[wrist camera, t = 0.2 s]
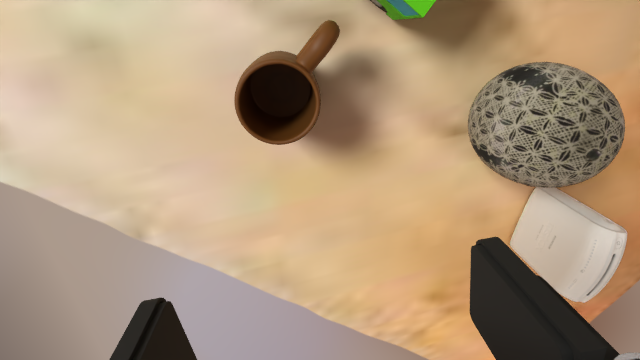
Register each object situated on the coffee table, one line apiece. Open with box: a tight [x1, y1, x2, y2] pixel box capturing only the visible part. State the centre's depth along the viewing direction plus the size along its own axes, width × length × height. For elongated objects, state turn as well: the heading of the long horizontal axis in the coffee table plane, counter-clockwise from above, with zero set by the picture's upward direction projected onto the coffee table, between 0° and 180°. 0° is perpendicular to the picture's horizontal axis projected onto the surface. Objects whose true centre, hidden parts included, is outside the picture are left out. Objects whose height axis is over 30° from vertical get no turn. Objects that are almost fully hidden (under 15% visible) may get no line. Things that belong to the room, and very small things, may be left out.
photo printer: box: [510, 187, 627, 303], centre depth 42 cm, size 10×4×12 cm, turn 169°
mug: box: [235, 20, 340, 145], centre depth 33 cm, size 12×8×9 cm, turn 141°
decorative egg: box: [468, 62, 625, 188], centre depth 34 cm, size 12×12×15 cm
